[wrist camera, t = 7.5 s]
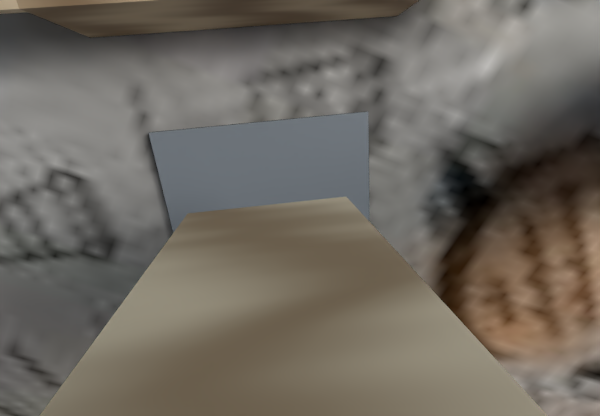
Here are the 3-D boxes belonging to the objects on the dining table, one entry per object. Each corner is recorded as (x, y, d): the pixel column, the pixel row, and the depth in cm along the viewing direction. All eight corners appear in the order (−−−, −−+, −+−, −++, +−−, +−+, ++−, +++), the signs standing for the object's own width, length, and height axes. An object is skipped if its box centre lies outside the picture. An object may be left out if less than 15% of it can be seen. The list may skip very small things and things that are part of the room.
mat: (365, 111, 17) (368, 111, 17) (368, 288, 21) (370, 292, 21) (152, 132, 16) (148, 132, 16) (195, 313, 20) (194, 318, 20)
